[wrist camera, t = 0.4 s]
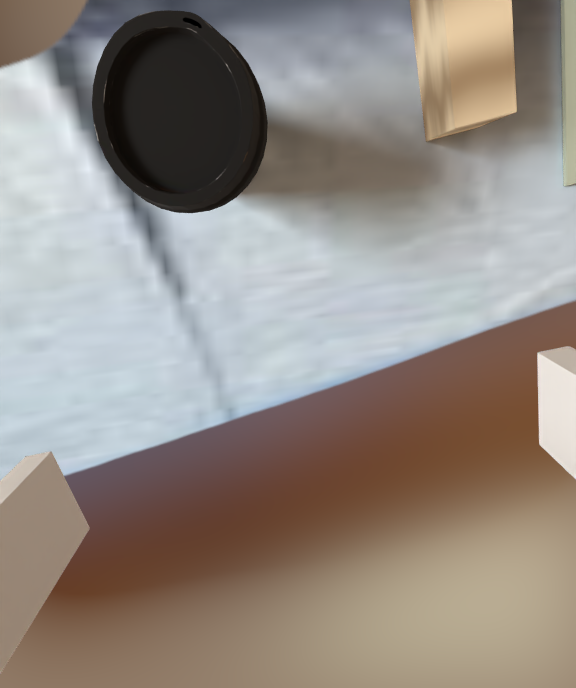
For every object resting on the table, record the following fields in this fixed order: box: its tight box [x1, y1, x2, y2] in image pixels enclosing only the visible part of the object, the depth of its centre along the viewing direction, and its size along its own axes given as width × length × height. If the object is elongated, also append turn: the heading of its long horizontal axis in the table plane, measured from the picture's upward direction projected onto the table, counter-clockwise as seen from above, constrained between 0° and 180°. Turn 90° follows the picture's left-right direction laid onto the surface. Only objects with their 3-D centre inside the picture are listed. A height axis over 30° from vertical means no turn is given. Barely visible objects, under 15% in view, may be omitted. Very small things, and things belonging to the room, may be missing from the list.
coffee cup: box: [92, 11, 267, 213], centre depth 25 cm, size 8×8×15 cm
